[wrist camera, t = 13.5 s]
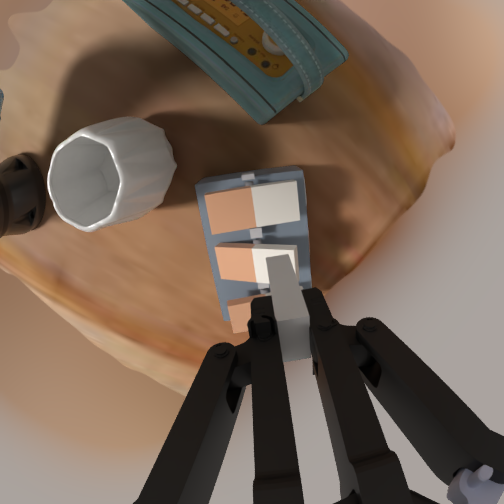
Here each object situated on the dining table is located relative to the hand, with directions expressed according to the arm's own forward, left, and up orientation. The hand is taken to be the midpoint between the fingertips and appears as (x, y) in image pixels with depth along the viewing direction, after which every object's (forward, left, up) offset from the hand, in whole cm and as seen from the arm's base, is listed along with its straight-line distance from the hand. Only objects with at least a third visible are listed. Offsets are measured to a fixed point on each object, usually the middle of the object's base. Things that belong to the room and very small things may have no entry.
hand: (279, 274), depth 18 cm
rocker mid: (-2, -6, -15) cm, 16 cm away
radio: (-2, +23, -23) cm, 33 cm away
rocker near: (-2, +1, -15) cm, 15 cm away
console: (-2, -6, -23) cm, 23 cm away
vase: (-18, +8, -23) cm, 30 cm away
